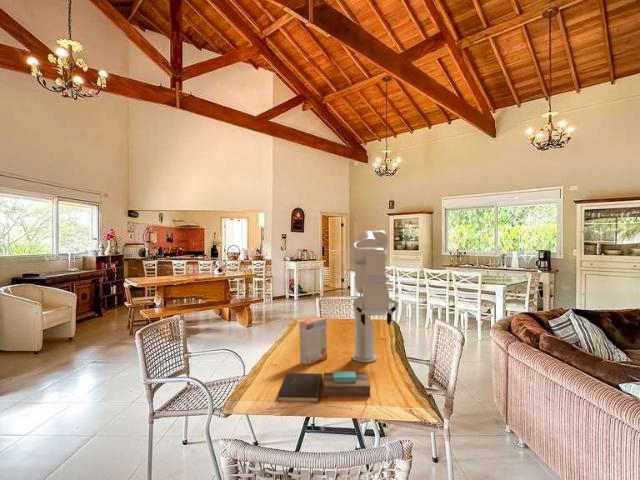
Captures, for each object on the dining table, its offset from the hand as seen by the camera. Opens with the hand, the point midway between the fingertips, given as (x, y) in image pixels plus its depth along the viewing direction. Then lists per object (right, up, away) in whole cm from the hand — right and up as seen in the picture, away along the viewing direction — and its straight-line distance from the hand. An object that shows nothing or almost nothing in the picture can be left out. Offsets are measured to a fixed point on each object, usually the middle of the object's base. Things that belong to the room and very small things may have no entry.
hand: (376, 324), depth 137 cm
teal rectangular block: (-12, -24, +8) cm, 28 cm away
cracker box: (-25, -29, +41) cm, 56 cm away
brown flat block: (-11, -28, +8) cm, 31 cm away
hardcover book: (-29, -29, +9) cm, 42 cm away
